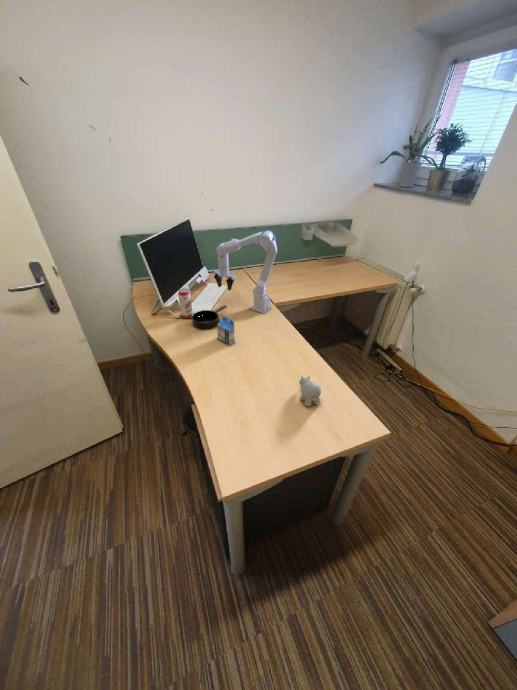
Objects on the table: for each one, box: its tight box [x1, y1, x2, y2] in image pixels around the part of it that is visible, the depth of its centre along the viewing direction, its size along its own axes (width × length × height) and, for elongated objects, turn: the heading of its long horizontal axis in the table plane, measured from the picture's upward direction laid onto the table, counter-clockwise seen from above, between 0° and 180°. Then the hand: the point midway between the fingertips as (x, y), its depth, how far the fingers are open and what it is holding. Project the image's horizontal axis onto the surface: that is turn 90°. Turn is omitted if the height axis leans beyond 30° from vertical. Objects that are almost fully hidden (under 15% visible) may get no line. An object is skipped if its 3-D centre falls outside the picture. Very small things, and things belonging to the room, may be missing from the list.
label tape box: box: [216, 314, 235, 346], centre depth 133 cm, size 9×4×12 cm, turn 47°
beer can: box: [177, 288, 194, 320], centre depth 150 cm, size 6×6×16 cm
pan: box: [191, 304, 228, 331], centre depth 152 cm, size 14×24×4 cm, turn 145°
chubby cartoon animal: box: [298, 375, 322, 408], centre depth 105 cm, size 7×12×8 cm, turn 16°
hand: (224, 288), depth 163 cm, fingers open, 7 cm apart
